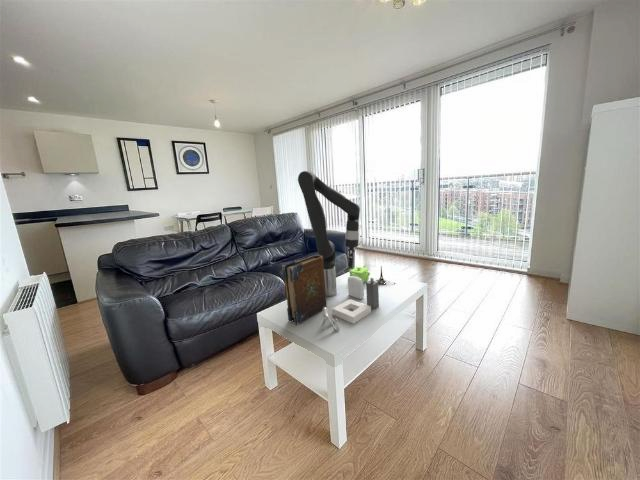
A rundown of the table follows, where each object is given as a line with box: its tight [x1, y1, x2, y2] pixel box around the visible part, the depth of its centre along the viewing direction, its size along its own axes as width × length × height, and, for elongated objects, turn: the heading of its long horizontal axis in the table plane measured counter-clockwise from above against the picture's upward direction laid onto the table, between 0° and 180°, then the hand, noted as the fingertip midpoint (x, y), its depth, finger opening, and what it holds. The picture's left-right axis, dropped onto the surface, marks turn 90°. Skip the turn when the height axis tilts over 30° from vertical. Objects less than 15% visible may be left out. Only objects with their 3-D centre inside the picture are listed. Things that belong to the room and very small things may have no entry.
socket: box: [332, 298, 372, 324], centre depth 133 cm, size 14×14×4 cm
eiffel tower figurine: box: [375, 265, 397, 286], centre depth 168 cm, size 15×10×13 cm
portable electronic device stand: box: [321, 307, 340, 332], centre depth 121 cm, size 9×8×8 cm
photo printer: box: [347, 275, 365, 300], centre depth 152 cm, size 10×4×12 cm, turn 39°
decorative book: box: [281, 254, 328, 326], centre depth 133 cm, size 23×7×30 cm, turn 137°
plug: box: [365, 277, 380, 310], centre depth 137 cm, size 4×4×16 cm
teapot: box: [348, 264, 371, 285], centre depth 173 cm, size 15×13×11 cm
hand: (350, 265), depth 150 cm, fingers open, 8 cm apart
